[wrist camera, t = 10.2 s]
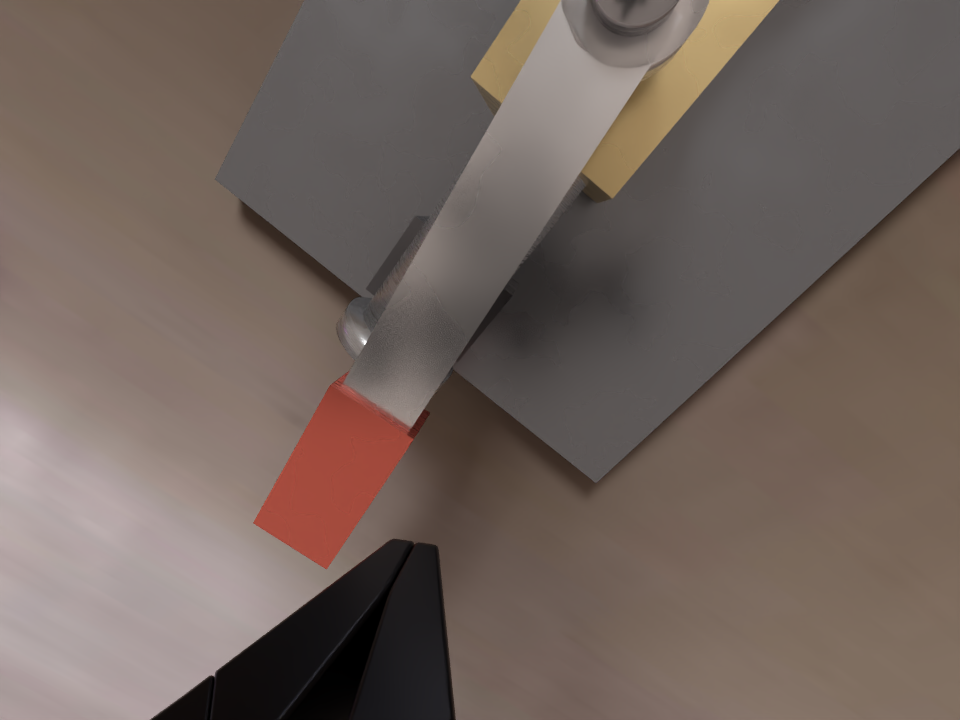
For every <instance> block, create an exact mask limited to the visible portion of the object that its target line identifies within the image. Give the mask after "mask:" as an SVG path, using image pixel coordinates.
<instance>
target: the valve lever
mask: <svg viewBox="0 0 960 720" xmlns="http://www.w3.org/2000/svg"><path fill="white" fill-rule="evenodd" d="M709 1H710V0H561V1H560V2H559V4H558V6H557V8H556V9H555V11H554V13H553V15H552V16H551V18H550V20H549V22H548V24H547V25H546V27H545V29H544V31H543V32H542V34H541V36H540V38H539V39H538V41H537V43H536V45H535V46H534V48H533V50H532V52H531V53H530V55H529V57H528V59H527V60H526V62H525V64H524V66H523V67H522V69H521V71H520V73H519V74H518V76H517V78H516V80H515V82H514V83H513V85H512V87H511V89H510V90H509V92H508V94H507V96H506V97H505V99H504V101H503V103H502V104H501V106H500V108H499V110H498V111H497V113H496V115H495V117H494V118H493V120H492V122H491V124H490V125H489V127H488V129H487V131H486V132H485V134H484V136H483V138H482V140H481V141H480V143H479V145H478V147H477V148H476V150H475V152H474V154H473V155H472V157H471V159H470V161H469V162H468V164H467V166H466V168H465V169H464V171H463V173H462V175H461V176H460V178H459V180H458V182H457V183H456V185H455V187H454V189H453V190H452V192H451V194H450V196H449V198H448V199H447V201H446V203H445V205H444V206H443V208H442V210H441V212H440V213H439V215H438V217H437V219H436V220H435V222H434V224H433V226H432V227H431V229H430V231H429V233H428V234H427V236H426V238H425V240H424V241H423V243H422V245H421V247H420V248H419V250H418V252H417V254H416V255H415V257H414V259H413V261H412V263H411V264H410V266H409V268H408V270H407V271H406V273H405V275H404V277H403V278H402V280H401V282H400V284H399V285H398V287H397V289H396V291H395V292H394V294H393V296H392V298H391V299H390V301H389V303H388V305H387V306H386V308H385V310H384V312H383V313H382V315H381V317H380V319H379V321H378V322H377V324H376V326H375V328H374V329H373V331H372V333H371V335H370V336H369V338H368V340H367V342H366V343H365V345H364V347H363V349H362V350H361V352H360V354H359V356H358V357H357V359H356V361H355V363H354V364H353V366H352V368H351V370H350V371H348V372H347V373H346V374H344V375H343V376H342V377H340V378H339V379H338V380H336V381H335V382H334V383H332V384H331V385H330V386H329V388H328V390H327V392H326V393H325V395H324V397H323V399H322V401H321V402H320V404H319V406H318V408H317V410H316V411H315V413H314V415H313V417H312V419H311V420H310V422H309V424H308V426H307V428H306V429H305V431H304V433H303V435H302V436H301V438H300V440H299V442H298V444H297V445H296V447H295V449H294V451H293V453H292V454H291V456H290V458H289V460H288V462H287V463H286V465H285V467H284V469H283V471H282V472H281V474H280V476H279V478H278V479H277V481H276V483H275V485H274V487H273V488H272V490H271V492H270V494H269V496H268V497H267V499H266V501H265V503H264V505H263V506H262V508H261V510H260V512H259V514H258V515H257V517H256V519H255V521H254V522H253V523H254V524H255V525H257V526H259V527H260V528H262V529H263V530H265V531H266V532H268V533H270V534H271V535H273V536H274V537H276V538H278V539H279V540H281V541H282V542H284V543H286V544H287V545H289V546H290V547H292V548H293V549H295V550H297V551H298V552H300V553H301V554H303V555H305V556H306V557H308V558H309V559H311V560H312V561H314V562H316V563H317V564H319V565H320V566H322V567H324V568H325V569H327V568H328V567H329V565H330V564H331V562H332V561H333V559H334V558H335V556H336V555H337V553H338V552H339V550H340V549H341V547H342V546H343V544H344V543H345V541H346V540H347V538H348V537H349V535H350V534H351V532H352V531H353V529H354V528H355V526H356V525H357V523H358V522H359V520H360V519H361V517H362V516H363V514H364V513H365V511H366V510H367V508H368V507H369V505H370V504H371V502H372V501H373V499H374V498H375V496H376V495H377V493H378V492H379V490H380V489H381V487H382V486H383V484H384V483H385V481H386V480H387V478H388V477H389V475H390V474H391V472H392V471H393V469H394V468H395V466H396V465H397V463H398V462H399V461H400V459H401V458H402V456H403V455H404V453H405V452H406V450H407V449H408V447H409V446H410V444H411V443H412V441H413V440H414V438H415V436H416V435H417V433H418V432H419V430H420V428H421V427H422V425H423V424H424V422H425V420H426V419H427V417H428V416H429V414H430V413H429V412H428V411H426V410H425V409H424V408H425V407H426V405H427V404H428V402H429V401H430V399H431V398H432V396H433V395H434V393H435V392H436V390H437V389H438V387H439V386H440V384H441V383H442V381H443V380H444V378H445V377H446V375H447V374H448V372H449V371H450V369H451V367H452V366H453V364H454V363H455V361H456V360H457V358H458V357H459V355H460V354H461V352H462V351H463V349H464V348H465V346H466V345H467V343H468V342H469V340H470V339H471V337H472V336H473V334H474V333H475V331H476V330H477V328H478V327H479V325H480V324H481V322H482V321H483V319H484V318H485V316H486V314H487V313H488V311H489V310H490V308H491V307H492V305H493V304H494V302H495V301H496V299H497V298H498V296H499V295H500V293H501V292H502V290H503V289H504V287H505V286H506V284H507V283H508V281H509V280H510V278H511V277H512V275H513V274H514V272H515V271H516V269H517V268H518V266H519V265H520V263H521V261H522V260H523V258H524V257H525V255H526V254H527V252H528V251H529V249H530V248H531V246H532V245H533V243H534V242H535V240H536V239H537V237H538V236H539V234H540V233H541V231H542V230H543V228H544V227H545V225H546V224H547V222H548V221H549V219H550V218H551V216H552V215H553V213H554V212H555V210H556V208H557V207H558V205H559V204H560V202H561V201H562V199H563V198H564V196H565V195H566V193H567V192H568V190H569V189H570V187H571V186H572V184H573V183H574V181H575V180H576V178H577V177H578V175H579V174H580V172H581V171H582V169H583V168H584V166H585V165H586V163H587V162H588V160H589V159H590V157H591V155H592V154H593V152H594V151H595V149H596V148H597V146H598V145H599V143H600V142H601V140H602V139H603V137H604V136H605V134H606V133H607V131H608V130H609V128H610V127H611V125H612V124H613V122H614V121H615V119H616V118H617V116H618V115H619V113H620V112H621V110H622V109H623V107H624V106H625V104H626V102H627V101H628V99H629V98H630V96H631V95H632V93H633V92H634V90H635V89H636V87H637V86H638V84H639V83H640V82H641V81H643V80H645V79H647V78H649V77H651V76H653V75H654V74H656V73H657V72H659V71H660V70H661V69H662V68H663V67H665V66H666V65H667V64H668V63H669V62H670V61H671V60H672V59H673V57H674V56H675V55H676V53H677V52H678V51H679V49H680V48H681V47H682V45H683V44H684V43H685V41H686V40H687V39H688V38H689V36H690V35H691V34H692V32H693V31H694V30H695V28H696V27H697V25H698V24H699V22H700V20H701V19H702V17H703V15H704V13H705V11H706V9H707V6H708V4H709Z"/></svg>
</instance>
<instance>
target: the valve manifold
mask: <svg viewBox="0 0 960 720" xmlns="http://www.w3.org/2000/svg"><path fill="white" fill-rule="evenodd" d="M560 1H561V0H304V2H303V4H302V6H301V8H300V10H299V12H298V14H297V16H296V18H295V20H294V22H293V24H292V26H291V28H290V30H289V32H288V34H287V36H286V38H285V40H284V42H283V44H282V46H281V48H280V50H279V52H278V54H277V56H276V58H275V60H274V62H273V64H272V66H271V68H270V70H269V72H268V74H267V76H266V78H265V80H264V82H263V84H262V86H261V88H260V90H259V92H258V94H257V96H256V98H255V100H254V102H253V104H252V106H251V108H250V110H249V112H248V114H247V116H246V118H245V120H244V122H243V124H242V126H241V128H240V130H239V132H238V134H237V136H236V138H235V140H234V142H233V144H232V146H231V148H230V150H229V152H228V154H227V156H226V158H225V160H224V162H223V164H222V166H221V168H220V170H219V172H218V174H217V176H216V178H215V180H216V181H218V182H219V183H220V184H221V185H223V186H224V187H225V188H226V189H228V190H229V191H230V192H231V193H233V194H234V195H235V196H236V197H238V198H239V199H240V200H241V201H243V202H244V203H245V204H246V205H248V206H249V207H250V208H251V209H253V210H254V211H255V212H256V213H258V214H259V215H260V216H261V217H263V218H264V219H265V220H266V221H268V222H269V223H270V224H272V225H273V226H274V227H275V228H277V229H278V230H279V231H280V232H282V233H283V234H284V235H285V236H287V237H288V238H289V239H290V240H292V241H293V242H294V243H295V244H297V245H298V246H299V247H300V248H302V249H303V250H304V251H305V252H307V253H308V254H309V255H310V256H312V257H313V258H314V259H315V260H317V261H318V262H319V263H320V264H322V265H323V266H324V267H325V268H327V269H328V270H329V271H330V272H332V273H333V274H334V275H335V276H337V277H338V278H339V279H340V280H342V281H343V282H344V283H346V284H347V285H348V286H349V287H351V288H352V289H353V290H354V291H356V292H357V293H358V294H359V295H361V296H362V297H358V298H355V299H353V300H352V301H351V302H350V304H349V305H348V307H347V308H346V310H345V311H344V313H343V314H342V316H341V317H340V319H339V320H338V322H337V327H336V329H337V334H338V337H339V339H340V341H341V343H342V345H343V346H344V348H345V350H346V351H347V352H348V353H349V355H350V356H351V357H352V358H353V359H354V360H355V361H356V359H357V357H358V356H359V354H360V352H361V350H362V349H363V347H364V345H365V343H366V342H367V340H368V338H369V336H370V335H371V333H372V331H373V329H374V328H375V326H376V324H377V322H378V321H379V319H380V317H381V315H382V313H383V312H384V310H385V308H386V306H387V305H388V303H389V301H390V299H391V298H392V296H393V294H394V292H395V291H396V289H397V287H398V285H399V284H400V282H401V280H402V278H403V277H404V275H405V273H406V271H407V270H408V268H409V266H410V264H411V263H412V261H413V259H414V257H415V255H416V254H417V252H418V250H419V248H420V247H421V245H422V243H423V241H424V240H425V238H426V236H427V234H428V233H429V231H430V229H431V227H432V226H433V224H434V222H435V220H436V219H437V217H438V215H439V213H440V212H441V210H442V208H443V206H444V205H445V203H446V201H447V199H448V198H449V196H450V194H451V192H452V190H453V189H454V187H455V185H456V183H457V182H458V180H459V178H460V176H461V175H462V173H463V171H464V169H465V168H466V166H467V164H468V162H469V161H470V159H471V157H472V155H473V154H474V152H475V150H476V148H477V147H478V145H479V143H480V141H481V140H482V138H483V136H484V134H485V132H486V131H487V129H488V127H489V125H490V124H491V122H492V120H493V118H494V117H495V115H496V113H497V111H498V110H499V108H500V106H501V104H502V103H503V101H504V99H505V97H506V96H507V94H508V92H509V90H510V89H511V87H512V85H513V83H514V82H515V80H516V78H517V76H518V74H519V73H520V71H521V69H522V67H523V66H524V64H525V62H526V60H527V59H528V57H529V55H530V53H531V52H532V50H533V48H534V46H535V45H536V43H537V41H538V39H539V38H540V36H541V34H542V32H543V31H544V29H545V27H546V25H547V24H548V22H549V20H550V18H551V16H552V15H553V13H554V11H555V9H556V8H557V6H558V4H559V2H560ZM959 148H960V0H710V1H709V4H708V6H707V9H706V11H705V13H704V15H703V17H702V19H701V20H700V22H699V24H698V25H697V27H696V28H695V30H694V31H693V32H692V34H691V35H690V36H689V38H688V39H687V40H686V41H685V43H684V44H683V45H682V47H681V48H680V49H679V51H678V52H677V53H676V55H675V56H674V57H673V59H672V60H671V61H670V62H669V63H668V64H667V65H666V66H665V67H663V68H662V69H661V70H660V71H659V72H657V73H656V74H654V75H653V76H651V77H649V78H647V79H645V80H643V81H641V82H640V83H639V84H638V86H637V87H636V89H635V90H634V92H633V93H632V95H631V96H630V98H629V99H628V101H627V102H626V104H625V106H624V107H623V109H622V110H621V112H620V113H619V115H618V116H617V118H616V119H615V121H614V122H613V124H612V125H611V127H610V128H609V130H608V131H607V133H606V134H605V136H604V137H603V139H602V140H601V142H600V143H599V145H598V146H597V148H596V149H595V151H594V152H593V154H592V155H591V157H590V159H589V160H588V162H587V163H586V165H585V166H584V168H583V169H582V171H581V172H580V174H579V175H578V177H577V178H576V180H575V181H574V183H573V184H572V186H571V187H570V189H569V190H568V192H567V193H566V195H565V196H564V198H563V199H562V201H561V202H560V204H559V205H558V207H557V208H556V210H555V212H554V213H553V215H552V216H551V218H550V219H549V221H548V222H547V224H546V225H545V227H544V228H543V230H542V231H541V233H540V234H539V236H538V237H537V239H536V240H535V242H534V243H533V245H532V246H531V248H530V249H529V251H528V252H527V254H526V255H525V257H524V258H523V260H522V261H521V263H520V265H519V266H518V268H517V269H516V271H515V272H514V274H513V275H512V277H511V278H510V280H509V281H508V283H507V284H506V286H505V287H504V289H503V290H502V292H501V293H500V295H499V296H498V298H497V299H496V301H495V302H494V304H493V305H492V307H491V308H490V310H489V311H488V313H487V314H486V316H485V318H484V319H483V321H482V322H481V324H480V325H479V327H478V328H477V330H476V331H475V333H474V334H473V336H472V337H471V339H470V340H469V342H468V343H467V345H466V346H465V348H464V349H463V351H462V352H461V354H460V355H459V357H458V358H457V360H456V361H455V363H454V364H453V366H452V367H451V369H450V371H449V372H448V374H447V375H446V377H445V378H444V380H443V381H442V383H441V384H440V386H439V387H438V389H437V390H436V392H437V391H438V390H439V389H440V388H441V387H442V385H443V384H444V383H445V382H446V381H447V379H448V378H449V377H450V376H451V374H452V372H453V370H455V371H456V372H457V373H458V374H460V375H461V376H462V377H463V378H465V379H466V380H467V381H468V382H470V383H471V384H472V385H473V386H475V387H476V388H477V389H478V390H480V391H481V392H482V393H484V394H485V395H486V396H487V397H489V398H490V399H491V400H492V401H494V402H495V403H496V404H497V405H499V406H500V407H501V408H502V409H504V410H505V411H506V412H507V413H509V414H510V415H511V416H512V417H514V418H515V419H516V420H517V421H519V422H520V423H521V424H522V425H524V426H525V427H526V428H527V429H529V430H530V431H531V432H532V433H534V434H535V435H536V436H537V437H539V438H540V439H541V440H542V441H544V442H545V443H546V444H547V445H549V446H550V447H551V448H553V449H554V450H555V451H556V452H558V453H559V454H560V455H561V456H563V457H564V458H565V459H566V460H568V461H569V462H570V463H571V464H573V465H574V466H575V467H576V468H578V469H579V470H580V471H581V472H583V473H584V474H585V475H586V476H588V477H589V478H590V479H591V480H593V481H594V482H595V483H597V482H598V481H599V480H600V479H601V478H602V477H603V476H604V475H606V474H607V473H608V472H609V471H610V470H611V469H612V468H613V467H614V466H615V465H616V464H617V463H619V462H620V461H621V460H622V459H623V458H624V457H625V456H626V455H627V454H628V453H629V452H630V451H632V450H633V449H634V448H635V447H636V446H637V445H638V444H639V443H640V442H641V441H642V440H644V439H645V438H646V437H647V436H648V435H649V434H650V433H651V432H652V431H653V430H654V429H655V428H657V427H658V426H659V425H660V424H661V423H662V422H663V421H664V420H665V419H666V418H667V417H668V416H670V415H671V414H672V413H673V412H674V411H675V410H676V409H677V408H678V407H679V406H680V405H681V404H683V403H684V402H685V401H686V400H687V399H688V398H689V397H690V396H691V395H692V394H693V393H695V392H696V391H697V390H698V389H699V388H700V387H701V386H702V385H703V384H704V383H705V382H706V381H708V380H709V379H710V378H711V377H712V376H713V375H714V374H715V373H716V372H717V371H718V370H719V369H721V368H722V367H723V366H724V365H725V364H726V363H727V362H728V361H729V360H730V359H731V358H732V357H734V356H735V355H736V354H737V353H738V352H739V351H740V350H741V349H742V348H743V347H744V346H745V345H747V344H748V343H749V342H750V341H751V340H752V339H753V338H754V337H755V336H756V335H757V334H759V333H760V332H761V331H762V330H763V329H764V328H765V327H766V326H767V325H768V324H769V323H770V322H772V321H773V320H774V319H775V318H776V317H777V316H778V315H779V314H780V313H781V312H782V311H783V310H785V309H786V308H787V307H788V306H789V305H790V304H791V303H792V302H793V301H794V300H795V299H796V298H798V297H799V296H800V295H801V294H802V293H803V292H804V291H805V290H806V289H807V288H808V287H810V286H811V285H812V284H813V283H814V282H815V281H816V280H817V279H818V278H819V277H820V276H821V275H823V274H824V273H825V272H826V271H827V270H828V269H829V268H830V267H831V266H832V265H833V264H834V263H836V262H837V261H838V260H839V259H840V258H841V257H842V256H843V255H844V254H845V253H846V252H847V251H849V250H850V249H851V248H852V247H853V246H854V245H855V244H856V243H857V242H858V241H859V240H860V239H862V238H863V237H864V236H865V235H866V234H867V233H868V232H869V231H870V230H871V229H872V228H874V227H875V226H876V225H877V224H878V223H879V222H880V221H881V220H882V219H883V218H884V217H885V216H887V215H888V214H889V213H890V212H891V211H892V210H893V209H894V208H895V207H896V206H897V205H898V204H900V203H901V202H902V201H903V200H904V199H905V198H906V197H907V196H908V195H909V194H910V193H911V192H913V191H914V190H915V189H916V188H917V187H918V186H919V185H920V184H921V183H922V182H923V181H925V180H926V179H927V178H928V177H929V176H930V175H931V174H932V173H933V172H934V171H935V170H936V169H938V168H939V167H940V166H941V165H942V164H943V163H944V162H945V161H946V160H947V159H948V158H949V157H951V156H952V155H953V154H954V153H955V152H956V151H957V150H958V149H959ZM436 392H435V393H436ZM435 393H434V394H435Z"/></svg>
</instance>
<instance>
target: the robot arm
mask: <svg viewBox="0 0 960 720" xmlns="http://www.w3.org/2000/svg"><path fill="white" fill-rule="evenodd" d="M150 720H456V717H455V708H454V698H453V688H452V678H451V668H450V658H449V648H448V638H447V629H446V619H445V609H444V599H443V589H442V579H441V569H440V559H439V550H438V547H437V546H436V545H433V544H426V543H416V544H414V543H413V542H412V541H407V540H400V539H392V540H390V541H388V542H387V543H386V544H384V545H383V546H382V547H380V548H379V549H378V550H376V551H375V552H374V553H372V554H371V555H370V556H368V557H367V558H366V559H364V560H363V561H362V562H360V563H359V564H358V565H356V566H355V567H354V568H352V569H351V570H350V571H348V572H347V573H346V574H344V575H343V576H342V577H341V578H339V579H338V580H337V581H335V582H334V583H333V584H331V585H330V586H329V587H327V588H326V589H325V590H323V591H322V592H321V593H319V594H318V595H317V596H315V597H314V598H313V599H311V600H310V601H309V602H307V603H306V604H305V605H303V606H302V607H301V608H299V609H298V610H297V611H295V612H294V613H293V614H291V615H290V616H289V617H287V618H286V619H285V620H283V621H282V622H281V623H279V624H278V625H277V626H275V627H274V628H273V629H271V630H270V631H269V632H267V633H266V634H265V635H263V636H262V637H261V638H260V639H258V640H257V641H256V642H254V643H253V644H252V645H250V646H249V647H248V648H246V649H245V650H244V651H242V652H241V653H240V654H238V655H237V656H236V657H234V658H233V659H232V660H230V661H229V662H228V663H226V664H225V665H224V666H222V667H221V668H220V669H218V670H217V671H216V672H215V677H214V676H212V675H211V676H209V677H207V678H206V679H205V680H203V681H202V682H201V683H199V684H198V685H197V686H195V687H194V688H193V689H191V690H190V691H189V692H187V693H186V694H185V695H183V696H182V697H181V698H179V699H178V700H177V701H175V702H174V703H172V704H171V705H170V706H168V707H167V708H166V709H164V710H163V711H161V712H160V713H159V714H157V715H156V716H154V717H153V718H152V719H150Z"/></svg>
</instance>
